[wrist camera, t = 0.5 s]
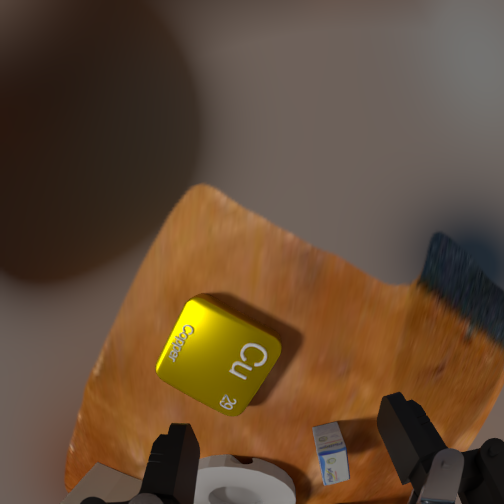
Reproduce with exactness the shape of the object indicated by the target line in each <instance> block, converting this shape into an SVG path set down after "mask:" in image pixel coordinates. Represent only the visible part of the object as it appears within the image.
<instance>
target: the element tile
mask: <svg viewBox="0 0 504 504" xmlns="http://www.w3.org/2000/svg"><path fill="white" fill-rule="evenodd" d="M281 349H282V345H281V338H280V335H279V334H278V333H277V332H276V331H275V330H273V329H271V328H270V327H268V326H266V325H264V324H262V323H260V322H258V321H256V320H254V319H252V318H251V317H249V316H247V315H245V314H243V313H241V312H239V311H238V310H236V309H234V308H232V307H230V306H228V305H227V304H225V303H223V302H221V301H219V300H218V299H216V298H214V297H212V296H211V295H208V294H203V293H201V294H198V295H196V296H194V297H192V298H190V299H189V300H188V301H187V302H186V303H185V305H184V307H183V309H182V311H181V313H180V315H179V317H178V319H177V321H176V323H175V325H174V327H173V329H172V331H171V333H170V335H169V337H168V339H167V341H166V343H165V345H164V348H163V350H162V352H161V354H160V356H159V358H158V360H157V362H156V366H155V371H156V374H157V375H158V377H159V378H160V379H161V380H163V381H164V382H166V383H167V384H169V385H171V386H172V387H174V388H176V389H177V390H179V391H181V392H183V393H184V394H186V395H188V396H190V397H192V398H193V399H195V400H197V401H199V402H201V403H203V404H205V405H207V406H209V407H210V408H212V409H214V410H216V411H218V412H220V413H222V414H224V415H227V416H238V415H240V414H241V413H242V412H243V411H244V410H245V409H246V407H247V406H248V404H249V403H250V401H251V400H252V398H253V397H254V395H255V394H256V392H257V391H258V389H259V388H260V386H261V385H262V383H263V382H264V380H265V378H266V377H267V375H268V374H269V372H270V371H271V369H272V367H273V366H274V364H275V363H276V361H277V359H278V358H279V356H280V354H281Z"/></svg>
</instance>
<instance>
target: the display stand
mask: <svg viewBox="0 0 504 504" xmlns="http://www.w3.org/2000/svg"><path fill="white" fill-rule="evenodd" d="M141 485H142V480H139V479H137V478H134V477H131V476H129V475H126V474H124V473H121V472H119V471H116V470H114V469H112V468H110V467H107V466H105V465H103V464H101V463H99V462H97V463H96V464H95V465H94V466H93V467H92V469H91V470H90V471H89V472H88V473H87V474H86V475H85V476H84V478H83V479H82V480H81V481H80V482H79V483H78V484H77V485H76V486H75V488H74V489H73V490H72V491H71V492H70V493H69V494H68V495H67V496H66V497H65V499H64V500H63V501H62V502H61V503H60V504H80V503H81V501H82V500H84V499H85V498H88V497H98V498H101V499H102V500H104V501H105V502H124V501H128V500H131V499H132V498H133V497H134V496H136V495H137V494H138V493H139V491H140V489H141Z"/></svg>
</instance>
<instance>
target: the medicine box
mask: <svg viewBox="0 0 504 504" xmlns="http://www.w3.org/2000/svg"><path fill="white" fill-rule="evenodd" d="M313 435H314V439H315V445H316V450H317V455H318V459H319V464H320V469H321V474H322V479H323V484H324V485H330V484H334V483H338V482H342V481H345V480H348V479H350V474H349V465H348V457H347V449H346V445H345V443H344V440H343V437H342V434H341V431H340V428H339V426H338V423H337V422H332V423H328V424H324V425H320V426H316V427H313Z"/></svg>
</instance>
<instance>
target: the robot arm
mask: <svg viewBox="0 0 504 504" xmlns="http://www.w3.org/2000/svg"><path fill="white" fill-rule="evenodd" d="M377 426H378V430H379V432H380V435H381V437H382V439H383V441H384V444H385V446H386V448H387V450H388V453H389V455H390V457H391V459H392V462H393V464H394V466H395V469H396V471H397V473H398V476H399V478H400V480H401V483H402V485H404V484H407V483H409V482H411V484H412V486H413V490H412V493H411V495H410V498H409V500H408V503H407V504H455V500H456V496H457V493H458V495H459V498H460V500H461V503H462V504H504V442H503V441H502V440H501V439H498V438H492V439H489V440H487V441H486V442H485V443H484V444H483V445H482V446H481V448H479V449H475V450H470V451H466V452H460V451H458V450H456V449H452V448H448V447H447V446H446V445H445V443H444V442H443V440H442V438H441V437H440V435H439V433H438V432H437V430H436V429H435V427H434V425H433V424H432V422H430V419H429V418H428V416H426V413H425V411H424V410H423V408H422V407H421V405H419V404H418V403H416V402H415V401H413V400H409V401H406V399H405V398H404V396H403V395H402V393H401V392H397V393H394V394H390V395H387V396H384V397H383V398H382V401H381V405H380V409H379V413H378V417H377ZM199 458H200V447H199V443H198V441H197V439H196V436H195V434H194V432H193V429H192V427H191V425H190V424H188V423H172V424H171V425H170V428H169V431H168V435H165V434H160V436H159V437H158V438H157V439H156V440H155V441H154V443H153V446H152V449H151V455H150V456H149V460H148V461H149V462H148V463H147V467H146V470H145V474H144V478H143V481H142V485H141V489H140V491H139V493H138V494H137V495H136V496H134V497H133V498H132V499H131V500H128V501H124V502H105V501H104V500H102V499H101V498H98V497H88V498H85V499H84V500H82V501H81V503H80V504H194V497H195V489H196V481H197V473H198V466H199Z"/></svg>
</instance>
